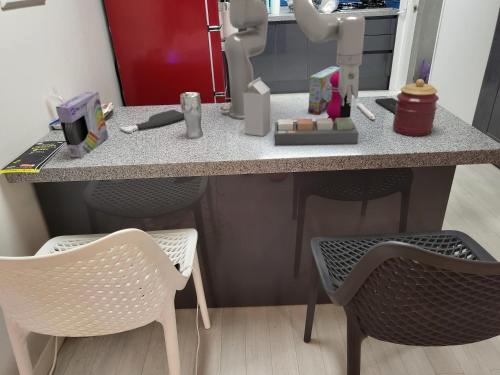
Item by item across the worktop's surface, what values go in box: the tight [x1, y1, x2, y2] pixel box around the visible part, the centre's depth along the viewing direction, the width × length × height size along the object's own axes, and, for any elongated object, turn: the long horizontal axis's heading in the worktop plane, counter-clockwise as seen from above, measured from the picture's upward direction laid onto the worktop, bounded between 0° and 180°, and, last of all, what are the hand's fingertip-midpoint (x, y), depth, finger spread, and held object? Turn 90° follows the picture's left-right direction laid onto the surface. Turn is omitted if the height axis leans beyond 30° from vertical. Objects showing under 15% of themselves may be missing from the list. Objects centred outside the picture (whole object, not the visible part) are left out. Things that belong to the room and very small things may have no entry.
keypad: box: [273, 120, 359, 147], centre depth 127 cm, size 27×12×4 cm, turn 86°
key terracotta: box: [296, 118, 313, 131], centre depth 126 cm, size 5×5×4 cm
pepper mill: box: [325, 68, 342, 121], centre depth 136 cm, size 7×7×20 cm
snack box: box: [307, 66, 340, 116], centre depth 154 cm, size 21×6×15 cm, turn 147°
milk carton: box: [243, 76, 272, 137], centre depth 131 cm, size 7×7×19 cm
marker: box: [356, 102, 376, 121], centre depth 147 cm, size 18×2×2 cm, turn 3°
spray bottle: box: [119, 109, 185, 134], centre depth 148 cm, size 3×11×24 cm
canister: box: [392, 78, 440, 137], centre depth 126 cm, size 13×13×18 cm
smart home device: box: [374, 97, 398, 116], centre depth 153 cm, size 8×2×20 cm
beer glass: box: [180, 91, 204, 139], centre depth 132 cm, size 7×7×15 cm
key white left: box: [277, 118, 294, 131], centre depth 126 cm, size 5×5×4 cm
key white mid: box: [315, 117, 333, 130], centre depth 125 cm, size 5×5×4 cm
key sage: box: [335, 117, 354, 130], centre depth 125 cm, size 5×5×4 cm
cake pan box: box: [55, 90, 109, 159], centre depth 125 cm, size 19×5×18 cm, turn 170°
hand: (344, 116), depth 123 cm, fingers closed
